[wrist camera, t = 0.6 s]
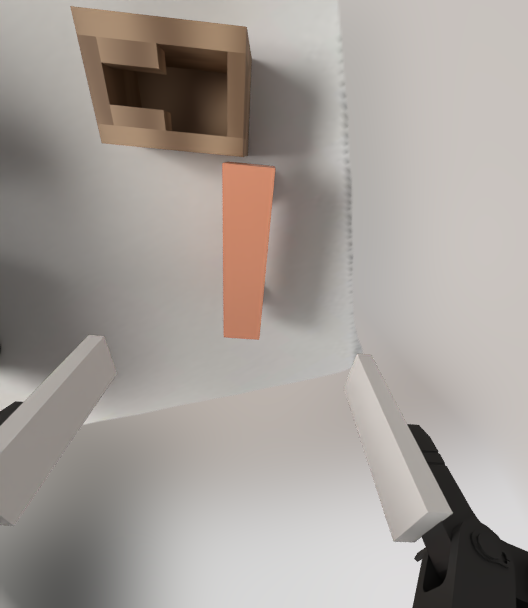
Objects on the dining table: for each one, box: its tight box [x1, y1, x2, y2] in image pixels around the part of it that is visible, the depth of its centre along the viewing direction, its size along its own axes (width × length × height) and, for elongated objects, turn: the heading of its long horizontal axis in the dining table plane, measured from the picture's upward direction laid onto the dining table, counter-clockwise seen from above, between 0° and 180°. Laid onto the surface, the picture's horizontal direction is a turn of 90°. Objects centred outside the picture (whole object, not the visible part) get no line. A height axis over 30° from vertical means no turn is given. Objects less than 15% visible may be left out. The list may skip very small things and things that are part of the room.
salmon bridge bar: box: [222, 162, 275, 340], centre depth 26 cm, size 17×4×7 cm, turn 175°
